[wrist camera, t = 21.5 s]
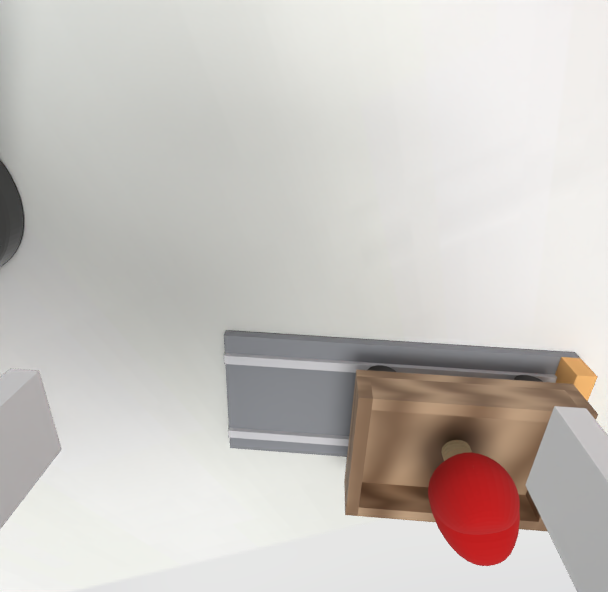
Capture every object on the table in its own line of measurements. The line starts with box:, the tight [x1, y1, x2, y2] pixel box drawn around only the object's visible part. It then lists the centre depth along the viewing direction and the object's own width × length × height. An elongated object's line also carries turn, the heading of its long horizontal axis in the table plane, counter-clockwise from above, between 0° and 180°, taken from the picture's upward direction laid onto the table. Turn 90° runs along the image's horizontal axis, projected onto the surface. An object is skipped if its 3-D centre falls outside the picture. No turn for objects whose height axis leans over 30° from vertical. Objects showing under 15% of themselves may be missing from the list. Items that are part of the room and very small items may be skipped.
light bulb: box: [428, 440, 520, 566], centre depth 36 cm, size 9×7×10 cm
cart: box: [344, 365, 598, 531], centre depth 41 cm, size 19×14×7 cm
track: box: [224, 331, 597, 457], centre depth 44 cm, size 35×15×4 cm, turn 88°
